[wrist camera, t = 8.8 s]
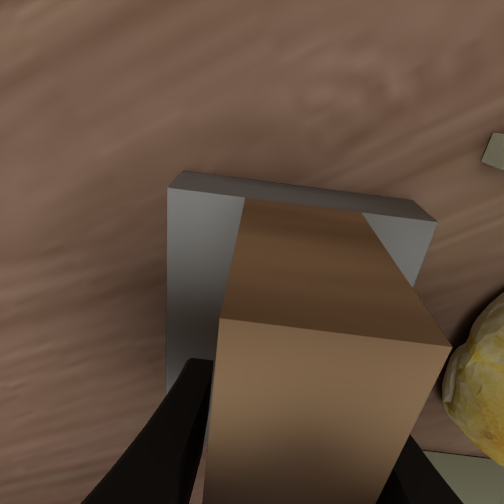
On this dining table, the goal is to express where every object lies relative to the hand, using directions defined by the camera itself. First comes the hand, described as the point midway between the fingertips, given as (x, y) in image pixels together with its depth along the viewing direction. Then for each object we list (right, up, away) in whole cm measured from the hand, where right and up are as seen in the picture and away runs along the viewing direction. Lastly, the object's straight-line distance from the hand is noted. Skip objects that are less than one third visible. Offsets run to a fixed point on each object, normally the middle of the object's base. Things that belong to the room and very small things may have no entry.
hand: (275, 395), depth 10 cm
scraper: (0, +2, +3) cm, 4 cm away
